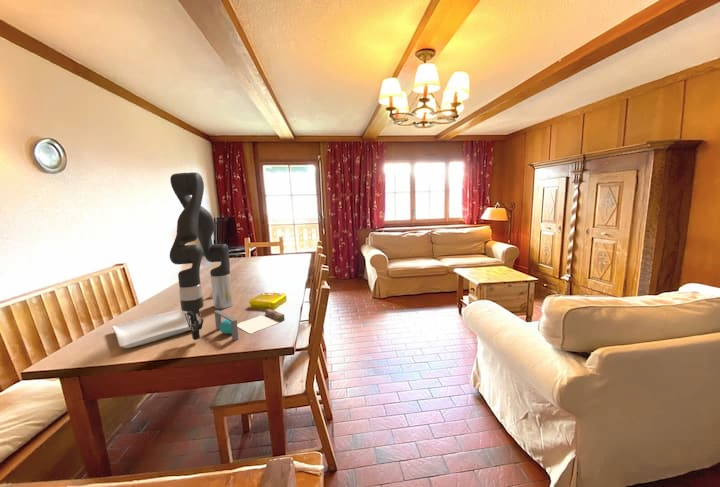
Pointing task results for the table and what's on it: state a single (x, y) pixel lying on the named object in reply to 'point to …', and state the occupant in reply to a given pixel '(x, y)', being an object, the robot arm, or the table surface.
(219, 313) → the grey u-shaped frame
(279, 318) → the stopper
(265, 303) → the element tile
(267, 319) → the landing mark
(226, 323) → the ball
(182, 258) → the robot arm
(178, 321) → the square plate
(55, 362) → the table surface
